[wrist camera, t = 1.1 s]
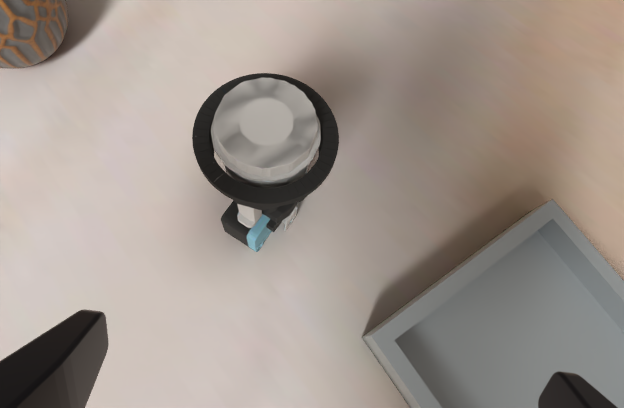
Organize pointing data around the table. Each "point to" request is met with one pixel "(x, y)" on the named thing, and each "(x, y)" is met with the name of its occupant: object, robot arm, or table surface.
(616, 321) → the tray
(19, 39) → the vase
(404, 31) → the table surface
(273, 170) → the push button
